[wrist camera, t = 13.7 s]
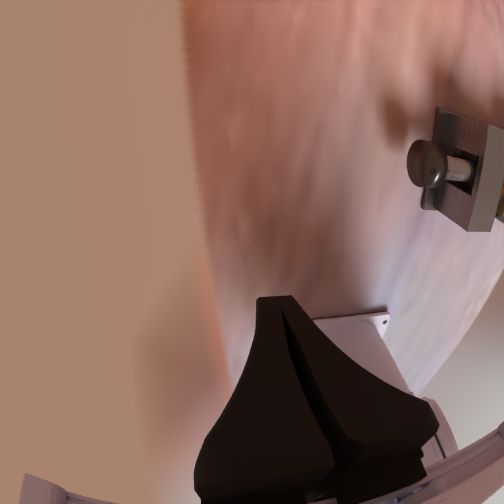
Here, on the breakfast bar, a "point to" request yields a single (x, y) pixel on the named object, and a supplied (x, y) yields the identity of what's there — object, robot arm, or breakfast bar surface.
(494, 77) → the breakfast bar surface
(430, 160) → the shaft
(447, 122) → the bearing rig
